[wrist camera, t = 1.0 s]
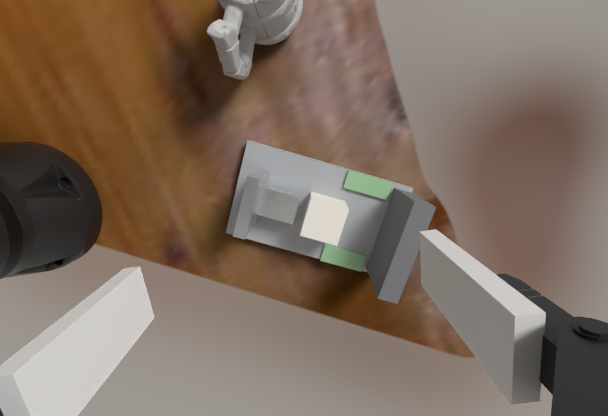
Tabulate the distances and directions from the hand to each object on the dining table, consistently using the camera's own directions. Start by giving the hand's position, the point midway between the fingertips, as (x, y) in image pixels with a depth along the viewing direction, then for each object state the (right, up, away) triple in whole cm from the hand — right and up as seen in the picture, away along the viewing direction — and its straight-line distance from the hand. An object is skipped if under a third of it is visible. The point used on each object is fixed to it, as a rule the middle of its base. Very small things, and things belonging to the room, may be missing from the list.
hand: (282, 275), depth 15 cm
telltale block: (+3, +3, +21) cm, 21 cm away
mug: (-3, +22, +18) cm, 28 cm away
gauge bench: (+3, +3, +22) cm, 22 cm away
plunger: (-2, +4, +20) cm, 21 cm away
